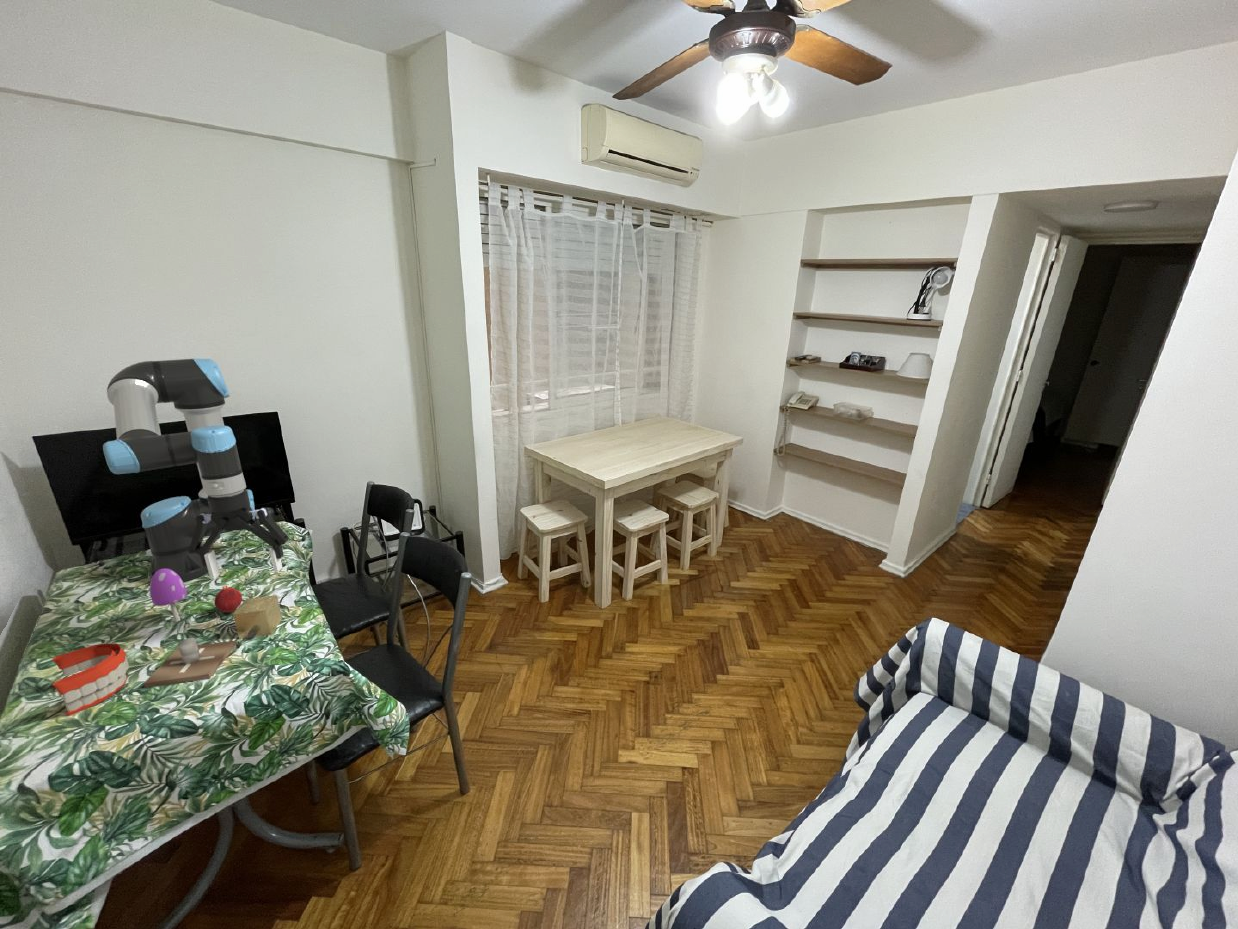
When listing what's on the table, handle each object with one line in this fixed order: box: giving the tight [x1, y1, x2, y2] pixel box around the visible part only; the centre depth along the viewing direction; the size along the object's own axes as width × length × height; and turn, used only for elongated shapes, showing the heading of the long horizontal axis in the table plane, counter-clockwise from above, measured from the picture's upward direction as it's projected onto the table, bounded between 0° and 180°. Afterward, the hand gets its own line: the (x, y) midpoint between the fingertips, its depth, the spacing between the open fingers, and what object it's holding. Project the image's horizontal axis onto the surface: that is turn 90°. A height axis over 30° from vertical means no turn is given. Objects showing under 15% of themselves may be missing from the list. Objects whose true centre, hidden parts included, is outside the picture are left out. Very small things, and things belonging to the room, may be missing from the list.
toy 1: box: [52, 643, 130, 717], centre depth 104 cm, size 12×10×8 cm
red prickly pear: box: [214, 584, 243, 613], centre depth 131 cm, size 6×6×8 cm
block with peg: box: [232, 594, 283, 639], centre depth 125 cm, size 10×7×7 cm
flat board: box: [143, 637, 237, 689], centre depth 112 cm, size 12×12×6 cm
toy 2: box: [149, 569, 188, 623], centre depth 127 cm, size 7×7×15 cm
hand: (247, 573), depth 121 cm, fingers open, 13 cm apart
